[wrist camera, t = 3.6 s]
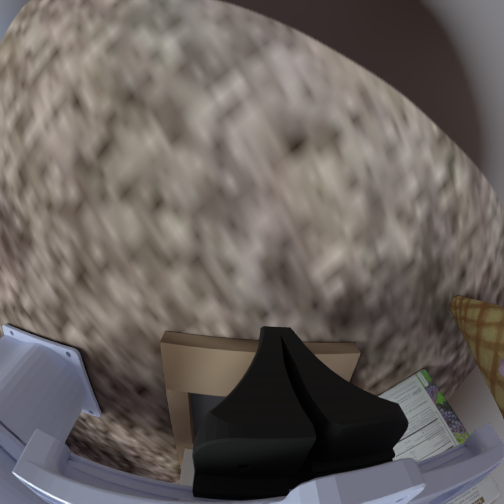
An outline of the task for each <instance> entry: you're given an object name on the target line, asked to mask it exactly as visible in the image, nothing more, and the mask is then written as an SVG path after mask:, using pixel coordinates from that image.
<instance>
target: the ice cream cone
mask: <svg viewBox="0 0 504 504" xmlns="http://www.w3.org/2000/svg"><path fill="white" fill-rule="evenodd" d="M449 310H450V311H451V313H452V315H453V317H454V319H455V321H456V323H457V324H458V326H459V328H460V330H461V332H462V334H463V336H464V338H465V340H466V342H467V344H468V346H469V348H470V350H471V352H472V354H473V356H474V358H475V361H476V363H477V365H478V367H479V369H480V371H481V373H482V375H483V377H484V379H485V381H486V383H487V385H488V387H489V389H490V391H491V393H492V395H493V397H494V399H495V401H496V403H497V405H498V407H499V410H500V412H501V414H502V416H503V418H504V307H502V306H499V305H495V304H491V303H487V302H483V301H479V300H475V299H471V298H467V297H463V296H459V295H458V296H455V297H454V298H453V299H452V301H451V303H450V306H449Z"/></svg>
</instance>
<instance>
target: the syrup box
mask: <svg viewBox="0 0 504 504" xmlns="http://www.w3.org/2000/svg"><path fill="white" fill-rule="evenodd" d="M378 397H380V398H383V399H386V400H389V401H392V402H395V403H398V404H399V405H400V407H401V409H402V410H403V412H404V414H405V416H406V418H407V419H408V422H409V425H408V428H407V430H406V432H405V434H404V435H403V437H402V438H401V439H400V440H399V442H398V443H397V444H396V445H395V446H394V448H393V450H394V452H395V457H394V458H392V459H393V461H395V460H398V459H404V458H413V459H414V460H415V461H416V463H417V462H420V461H422V460H425V459H427V458H430V457H432V456H435V455H437V454H440V453H442V452H444V451H446V450H449V449H451V448H453V447H455V446H457V445H459V444H461V443H463V442H465V440H466V439H467V438H468V436H469V434H468V433H467V431H466V429H465V428H464V426H463V425H462V423H461V421H460V420H459V418H458V417H457V415H456V414H455V412H454V411H453V409H452V408H451V406H450V405H449V403H448V402H447V400H446V399H445V397H444V396H443V394H442V393H441V392H440V390H439V389H438V387H437V386H436V384H435V383H434V381H433V380H432V379H431V377H430V376H429V374H428V373H427V372H426V370H425V369H422V370H420V371H418V372H417V373H415V374H414V375H412V376H411V377H409V378H408V379H406V380H404V381H403V382H401V383H399V384H398V385H396V386H395V387H393V388H391V389H389V390H388V391H386V392H384V393H383V394H381V395H379V396H378ZM500 496H501V492H500V490H499V488H498V486H497V484H496V482H495V480H494V478H493V476H492V474H491V473H490V474H488V475H487V476H486V477H485V478H484V479H483V480H481V481H480V482H479V483H478V484H476V485H475V486H473V487H472V488H470V489H469V490H467V491H466V492H464V493H463V494H461V495H459V496H458V497H456V498H455V499H453V500H451V501H450V502H448V503H446V504H493V503H494V502H495V501H496V500H497V499H498V498H499V497H500Z"/></svg>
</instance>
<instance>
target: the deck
mask: <svg viewBox="0 0 504 504" xmlns="http://www.w3.org/2000/svg"><path fill="white" fill-rule="evenodd" d="M303 343H304V344H305V345H306V346H307V348H308V349H309V350H310V351H311V352H312V353H313V354H314V355H315V356H316V357H317V358H318V359H319V360H321V361H322V362H323V363H324V364H325V365H326V366H327V367H328V368H330V369H331V370H332V371H334V372H335V373H336V374H338V375H339V376H340V377H342V378H343V379H345V380H346V381H348V382H349V381H350V379H351V376H352V374H353V372H354V369H355V367H356V364H357V362H358V359H359V357H360V354H361V353H360V351H359V349H358V347H357V346H356V344H355V342H348V343H308V342H303ZM258 345H259V341H258V340H243V339H231V338H220V337H210V336H200V335H192V334H184V333H176V332H169V331H165V332H164V335H163V337H162V339H161V341H160V346H161V356H162V365H163V373H164V381H165V388H166V395H167V402H168V408H169V414H170V420H171V425H172V430H173V436H174V441H175V445H176V450H177V455H178V459H179V463H180V468H181V470H182V464H183V457H184V452H185V449H192V450H193V445H194V440H195V437H196V434H197V432H198V430H199V428H200V426H201V424H202V422H203V420H204V419H205V417H206V415H207V414H208V412H209V411H210V410H212V409H213V408H214V407H215V406H217V405H218V404H219V403H220V402H221V401H222V400H223V399H224V398H225V397H226V396H227V395H228V394H229V393H230V392H231V391H232V390H233V389H234V388H235V387H236V385H237V384H238V383H239V381H240V380H241V379H242V377H243V376H244V374H245V373H246V371H247V370H248V368H249V366H250V364H251V363H252V360H253V358H254V356H255V354H256V352H257V349H258Z"/></svg>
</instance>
